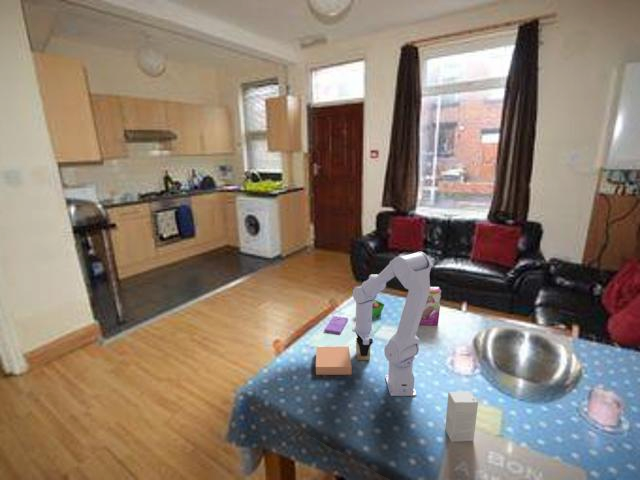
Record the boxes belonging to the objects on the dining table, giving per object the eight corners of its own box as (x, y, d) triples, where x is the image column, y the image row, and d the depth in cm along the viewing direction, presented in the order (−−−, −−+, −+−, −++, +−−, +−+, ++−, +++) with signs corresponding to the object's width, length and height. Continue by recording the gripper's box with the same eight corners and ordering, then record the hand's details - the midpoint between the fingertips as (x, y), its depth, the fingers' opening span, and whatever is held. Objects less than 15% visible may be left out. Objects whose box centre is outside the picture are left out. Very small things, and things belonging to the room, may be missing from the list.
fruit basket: (366, 322, 147) (367, 298, 144) (353, 314, 154) (354, 291, 151) (384, 314, 153) (385, 292, 150) (371, 307, 160) (372, 286, 157)
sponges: (348, 321, 148) (348, 317, 148) (340, 335, 137) (340, 331, 136) (333, 319, 151) (333, 315, 150) (324, 332, 139) (324, 328, 139)
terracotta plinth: (351, 374, 112) (351, 366, 111) (315, 374, 112) (315, 366, 111) (348, 353, 124) (348, 346, 123) (316, 353, 124) (316, 346, 123)
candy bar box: (412, 325, 144) (414, 289, 140) (410, 319, 149) (412, 285, 144) (438, 326, 143) (442, 290, 139) (436, 320, 148) (439, 286, 143)
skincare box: (466, 428, 90) (471, 390, 87) (473, 441, 86) (479, 402, 83) (444, 429, 90) (448, 391, 87) (450, 442, 85) (455, 403, 82)
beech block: (369, 359, 119) (370, 345, 118) (357, 359, 119) (357, 345, 118) (368, 352, 124) (368, 338, 122) (356, 352, 124) (356, 338, 122)
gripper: (350, 308, 125) (350, 340, 128) (354, 327, 111) (353, 363, 114) (369, 308, 125) (368, 340, 128) (375, 327, 111) (374, 363, 114)
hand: (363, 351), depth 121 cm, fingers closed on beech block, 4 cm apart
